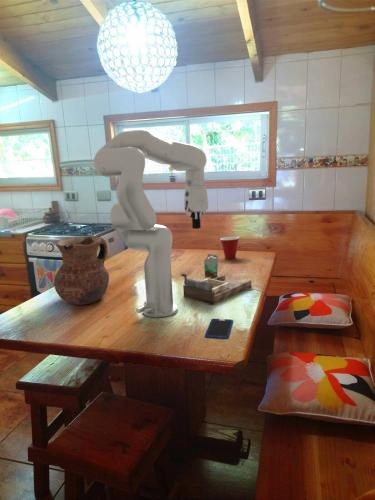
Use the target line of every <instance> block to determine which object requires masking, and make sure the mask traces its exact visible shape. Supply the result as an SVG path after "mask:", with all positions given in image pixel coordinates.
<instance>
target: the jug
mask: <svg viewBox="0 0 375 500" xmlns="http://www.w3.org/2000/svg"><path fill="white" fill-rule="evenodd" d="M54 245H55V247H56V248H57V249H58V250H59V252H60V254H61V257H62V265H61V266H60V268H59V269H58V270H57V272H56V274H55V276H54V280H53V281H54V283H53V284H54V290H55V292H56V294H57V295H58V296H59V298H61V300H62V301H64V302H65V303H67V304H70V305H74V306H85V305H89V304H93V303H95V302H97V301H99V300H100V299H102V298H103V297H104V295H106V292H107V289H108V286H109V281H110V280H109V279H110V275H109V271H108V270H107V268H106V267H105V260H106V257H107V253H108V246H107V243H106V240H105V239H104V238H102V237H100V236H96V235H91V236H80V237H64V238H59V239H57V240H56V241H55V244H54ZM98 250H99V252H98ZM97 254H98V255H97Z"/></svg>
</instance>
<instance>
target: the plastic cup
mask: <svg viewBox="0 0 375 500" xmlns="http://www.w3.org/2000/svg"><path fill="white" fill-rule="evenodd" d="M239 239H240V236H227V237H221V238H220V239H219V240H220V242H221V245H222V250H223V254H224V258H225V259H226V260H234V259H236V257H237V249H238V243H239Z"/></svg>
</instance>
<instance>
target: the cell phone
mask: <svg viewBox="0 0 375 500" xmlns="http://www.w3.org/2000/svg"><path fill="white" fill-rule="evenodd" d="M233 323H234V319H229V318H228V319H227V318H211V319H210V322H209V324H208V327H207V329H206V332H205V333H204V338H205V339H215V340H216V339H218V340H228V339H229V338H230V334H231V331H232V327H233Z"/></svg>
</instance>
